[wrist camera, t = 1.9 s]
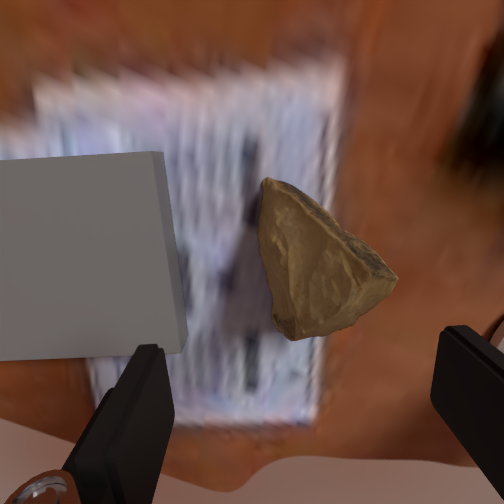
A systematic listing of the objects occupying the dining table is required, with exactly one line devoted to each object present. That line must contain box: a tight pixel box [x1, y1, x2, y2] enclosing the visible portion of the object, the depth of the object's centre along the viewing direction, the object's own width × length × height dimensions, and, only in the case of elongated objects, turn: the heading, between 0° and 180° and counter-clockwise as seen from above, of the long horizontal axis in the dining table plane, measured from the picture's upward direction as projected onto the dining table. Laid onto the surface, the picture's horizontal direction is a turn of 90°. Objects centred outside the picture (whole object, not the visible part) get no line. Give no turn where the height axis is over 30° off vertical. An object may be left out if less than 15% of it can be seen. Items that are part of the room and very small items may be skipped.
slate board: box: [0, 151, 188, 361], centre depth 21 cm, size 16×14×2 cm
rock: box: [257, 177, 398, 341], centre depth 19 cm, size 11×9×10 cm
